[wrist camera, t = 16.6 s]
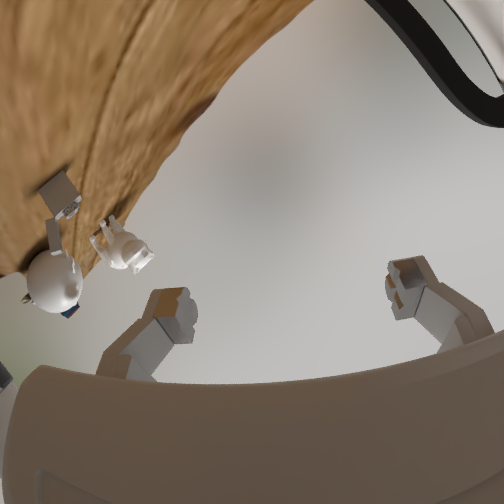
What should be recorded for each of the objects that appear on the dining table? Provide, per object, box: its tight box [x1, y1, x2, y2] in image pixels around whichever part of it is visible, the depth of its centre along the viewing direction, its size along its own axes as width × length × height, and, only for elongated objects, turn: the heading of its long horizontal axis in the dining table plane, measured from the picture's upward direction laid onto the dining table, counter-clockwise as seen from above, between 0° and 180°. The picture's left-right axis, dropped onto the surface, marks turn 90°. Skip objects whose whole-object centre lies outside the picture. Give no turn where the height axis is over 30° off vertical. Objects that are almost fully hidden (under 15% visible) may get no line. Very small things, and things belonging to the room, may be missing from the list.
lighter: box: [38, 170, 82, 256], centre depth 27 cm, size 7×2×8 cm, turn 55°
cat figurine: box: [90, 214, 154, 274], centre depth 71 cm, size 25×10×17 cm, turn 134°
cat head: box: [27, 248, 83, 313], centre depth 43 cm, size 15×13×12 cm
